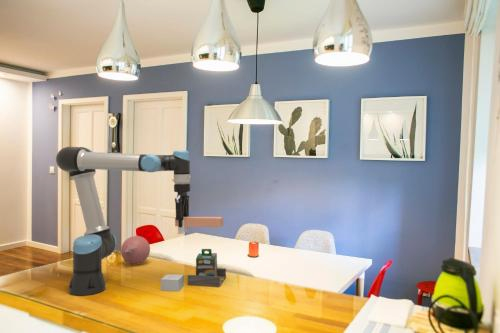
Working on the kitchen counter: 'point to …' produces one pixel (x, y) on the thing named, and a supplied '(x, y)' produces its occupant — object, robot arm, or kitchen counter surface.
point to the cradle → (208, 279)
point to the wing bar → (201, 221)
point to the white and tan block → (172, 282)
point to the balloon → (135, 250)
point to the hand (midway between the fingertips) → (182, 232)
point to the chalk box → (206, 263)
